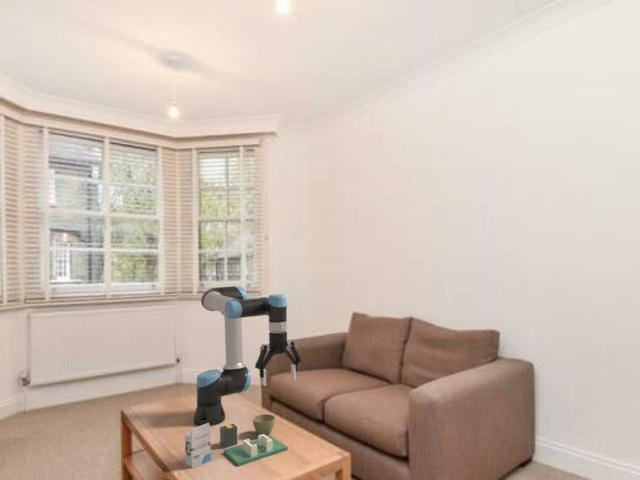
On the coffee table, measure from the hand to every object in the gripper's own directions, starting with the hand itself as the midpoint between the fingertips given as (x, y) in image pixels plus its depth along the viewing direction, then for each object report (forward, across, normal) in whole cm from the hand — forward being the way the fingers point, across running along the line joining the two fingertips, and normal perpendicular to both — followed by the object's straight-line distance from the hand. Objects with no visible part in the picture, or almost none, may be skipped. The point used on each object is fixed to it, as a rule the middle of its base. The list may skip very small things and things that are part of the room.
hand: (279, 382), depth 180 cm
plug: (+27, -18, +14) cm, 35 cm away
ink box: (+27, -33, +5) cm, 43 cm away
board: (+27, -10, +2) cm, 29 cm away
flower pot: (+27, -1, +16) cm, 31 cm away
